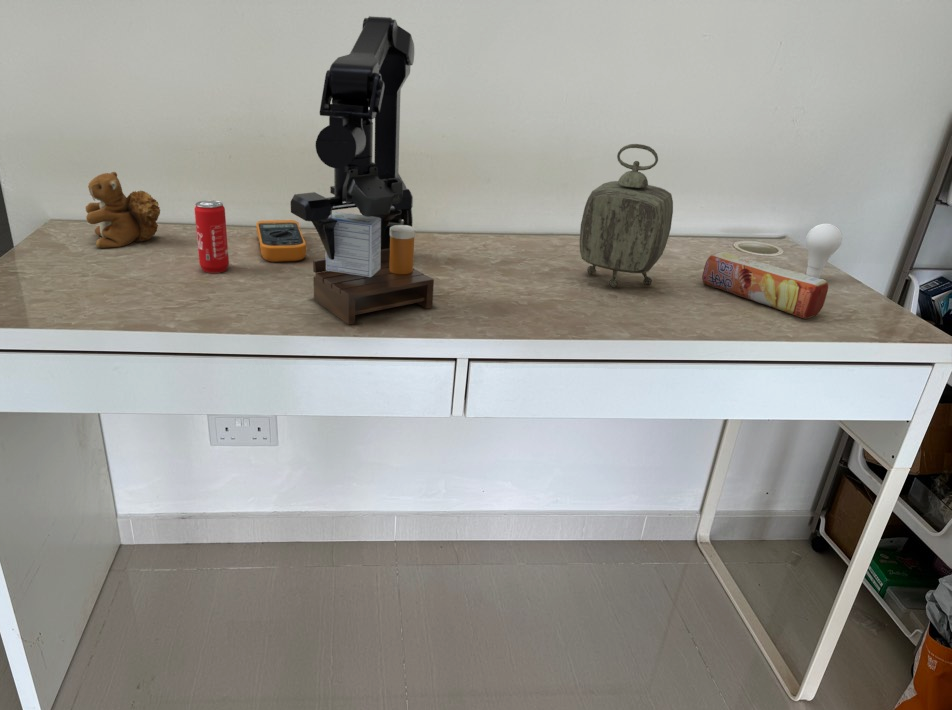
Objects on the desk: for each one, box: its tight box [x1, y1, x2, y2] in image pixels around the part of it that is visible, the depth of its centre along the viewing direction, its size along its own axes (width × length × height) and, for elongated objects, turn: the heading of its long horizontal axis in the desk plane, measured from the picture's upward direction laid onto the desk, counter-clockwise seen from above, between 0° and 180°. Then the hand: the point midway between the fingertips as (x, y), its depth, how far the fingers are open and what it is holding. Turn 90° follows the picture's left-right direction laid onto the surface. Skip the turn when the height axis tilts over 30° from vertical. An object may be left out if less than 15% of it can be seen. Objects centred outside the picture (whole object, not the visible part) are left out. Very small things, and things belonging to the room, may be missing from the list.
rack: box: [312, 248, 435, 326], centre depth 127 cm, size 16×12×7 cm
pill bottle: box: [389, 225, 416, 274], centre depth 128 cm, size 4×4×7 cm
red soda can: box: [194, 199, 230, 274], centre depth 138 cm, size 5×5×12 cm
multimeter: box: [255, 219, 307, 263], centre depth 152 cm, size 9×18×3 cm, turn 13°
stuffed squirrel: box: [85, 171, 161, 249], centre depth 150 cm, size 10×14×13 cm
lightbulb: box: [805, 222, 843, 279], centre depth 148 cm, size 6×6×11 cm
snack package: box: [701, 251, 829, 320], centre depth 137 cm, size 21×7×7 cm, turn 36°
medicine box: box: [325, 211, 381, 277], centre depth 122 cm, size 8×4×9 cm, turn 71°
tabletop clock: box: [579, 143, 674, 289], centre depth 137 cm, size 14×9×25 cm, turn 62°
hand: (352, 255), depth 122 cm, fingers closed on medicine box, 7 cm apart
